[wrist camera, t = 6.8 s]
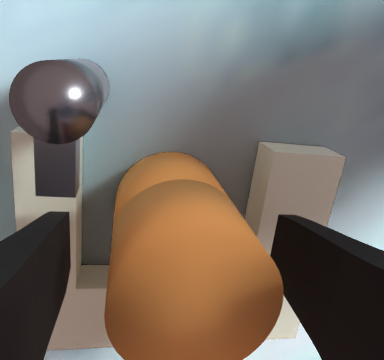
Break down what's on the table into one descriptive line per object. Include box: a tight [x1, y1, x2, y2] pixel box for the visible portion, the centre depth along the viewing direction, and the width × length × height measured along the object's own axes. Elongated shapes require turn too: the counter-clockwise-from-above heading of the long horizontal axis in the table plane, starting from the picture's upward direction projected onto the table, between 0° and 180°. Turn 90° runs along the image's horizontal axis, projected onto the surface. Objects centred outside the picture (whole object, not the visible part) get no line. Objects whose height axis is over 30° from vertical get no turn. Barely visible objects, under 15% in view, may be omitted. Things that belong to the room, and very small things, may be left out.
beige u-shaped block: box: [10, 126, 346, 350], centre depth 14 cm, size 12×9×2 cm
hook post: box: [9, 59, 109, 198], centre depth 10 cm, size 2×3×5 cm, turn 174°
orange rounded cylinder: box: [104, 152, 283, 360], centre depth 11 cm, size 4×4×6 cm
